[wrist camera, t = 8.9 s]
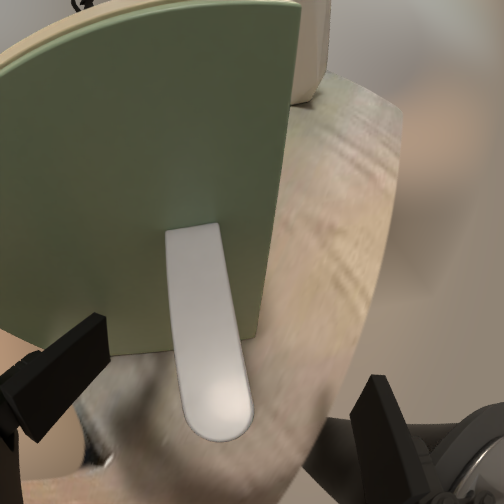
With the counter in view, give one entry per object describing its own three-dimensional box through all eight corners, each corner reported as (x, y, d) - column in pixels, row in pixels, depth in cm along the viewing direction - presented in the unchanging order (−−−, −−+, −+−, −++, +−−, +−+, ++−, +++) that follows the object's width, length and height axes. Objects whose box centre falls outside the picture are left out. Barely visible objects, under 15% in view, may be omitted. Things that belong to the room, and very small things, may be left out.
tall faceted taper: (238, 95, 42) (241, -78, 14) (278, 78, 46) (290, -67, 18) (297, 120, 38) (322, -82, 10) (332, 100, 43) (360, -61, 14)
